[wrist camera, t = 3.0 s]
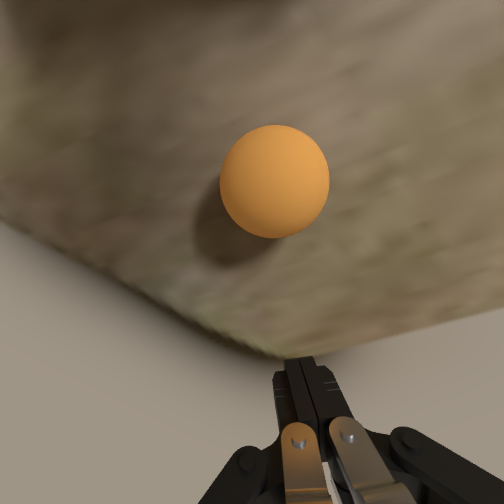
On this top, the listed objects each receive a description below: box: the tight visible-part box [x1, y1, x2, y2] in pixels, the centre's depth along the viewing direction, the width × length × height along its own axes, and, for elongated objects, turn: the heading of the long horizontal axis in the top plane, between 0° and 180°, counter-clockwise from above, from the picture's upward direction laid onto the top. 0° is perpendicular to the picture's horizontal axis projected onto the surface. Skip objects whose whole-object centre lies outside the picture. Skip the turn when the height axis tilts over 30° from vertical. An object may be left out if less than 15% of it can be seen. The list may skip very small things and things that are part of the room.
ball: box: [220, 125, 329, 238], centre depth 15 cm, size 6×6×6 cm
